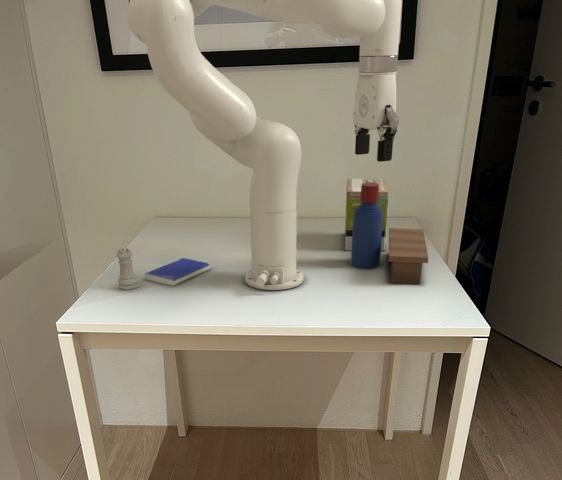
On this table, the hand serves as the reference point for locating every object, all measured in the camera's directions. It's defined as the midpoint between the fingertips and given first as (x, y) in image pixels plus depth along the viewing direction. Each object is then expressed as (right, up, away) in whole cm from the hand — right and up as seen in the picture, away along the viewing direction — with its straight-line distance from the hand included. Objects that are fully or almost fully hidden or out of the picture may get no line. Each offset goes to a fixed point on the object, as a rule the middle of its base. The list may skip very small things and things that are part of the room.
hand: (372, 157), depth 124 cm
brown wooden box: (+9, -22, +8) cm, 25 cm away
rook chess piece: (-52, -28, 0) cm, 59 cm away
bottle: (0, -21, +11) cm, 24 cm away
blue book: (-43, -24, +6) cm, 49 cm away
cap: (0, -8, +4) cm, 9 cm away
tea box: (+2, -12, +26) cm, 29 cm away
